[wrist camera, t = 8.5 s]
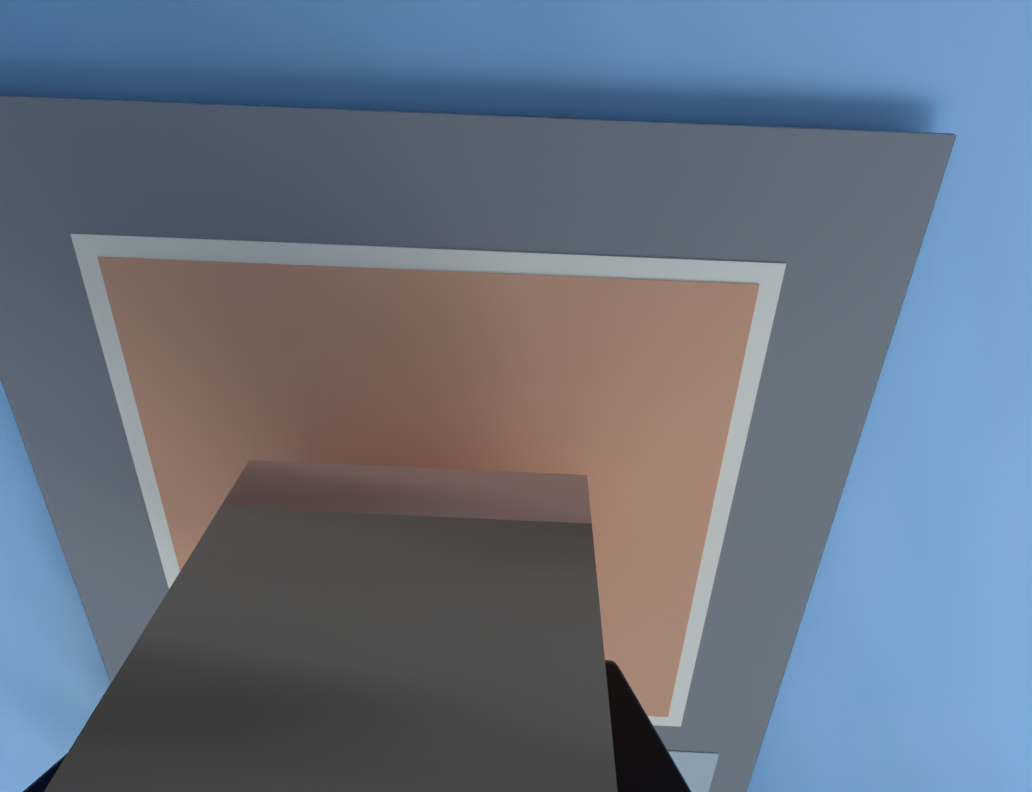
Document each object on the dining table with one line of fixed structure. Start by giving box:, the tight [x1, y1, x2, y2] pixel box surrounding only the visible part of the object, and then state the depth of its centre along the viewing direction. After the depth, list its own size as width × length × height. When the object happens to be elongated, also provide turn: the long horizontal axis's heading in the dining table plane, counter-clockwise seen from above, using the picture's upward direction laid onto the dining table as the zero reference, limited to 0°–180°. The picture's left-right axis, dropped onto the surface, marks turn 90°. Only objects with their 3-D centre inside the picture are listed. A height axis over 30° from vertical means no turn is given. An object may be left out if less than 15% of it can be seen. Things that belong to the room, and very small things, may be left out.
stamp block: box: [44, 460, 618, 792], centre depth 8 cm, size 4×4×6 cm
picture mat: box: [0, 95, 956, 792], centre depth 13 cm, size 13×15×1 cm
